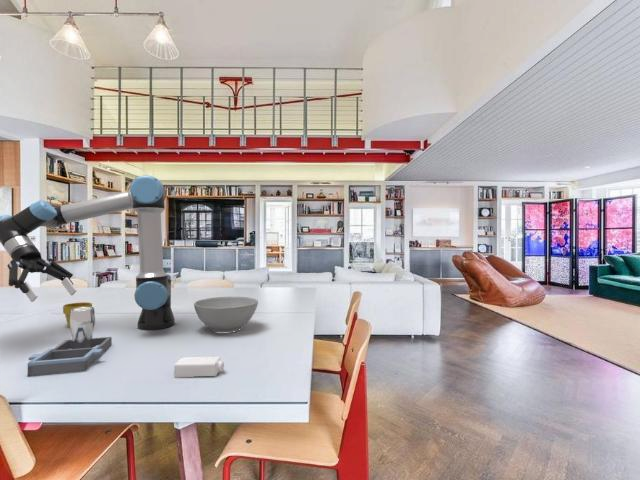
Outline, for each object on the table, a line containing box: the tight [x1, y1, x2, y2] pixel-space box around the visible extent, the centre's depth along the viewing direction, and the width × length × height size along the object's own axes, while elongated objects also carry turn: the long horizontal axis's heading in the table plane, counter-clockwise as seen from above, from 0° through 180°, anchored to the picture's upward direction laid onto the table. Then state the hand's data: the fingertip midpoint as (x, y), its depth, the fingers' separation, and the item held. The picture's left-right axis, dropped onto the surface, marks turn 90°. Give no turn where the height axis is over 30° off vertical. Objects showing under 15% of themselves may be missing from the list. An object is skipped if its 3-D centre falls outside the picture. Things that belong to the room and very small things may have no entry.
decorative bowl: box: [193, 296, 259, 333], centre depth 143 cm, size 27×27×12 cm
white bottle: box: [173, 355, 225, 378], centre depth 96 cm, size 6×13×4 cm, turn 93°
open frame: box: [26, 336, 113, 377], centre depth 106 cm, size 18×25×4 cm
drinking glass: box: [69, 306, 96, 349], centre depth 112 cm, size 7×7×15 cm
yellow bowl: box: [62, 301, 93, 329], centre depth 145 cm, size 10×10×10 cm
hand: (55, 295), depth 114 cm, fingers open, 13 cm apart
